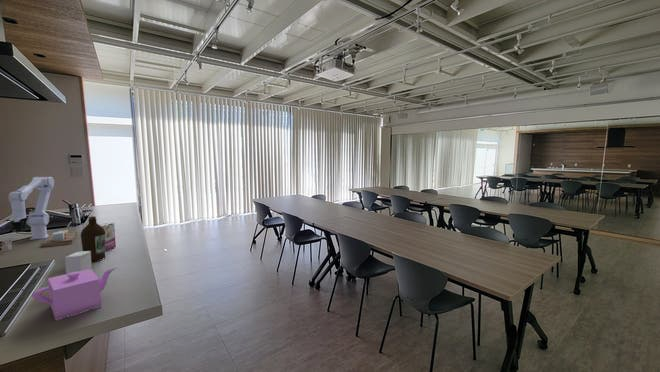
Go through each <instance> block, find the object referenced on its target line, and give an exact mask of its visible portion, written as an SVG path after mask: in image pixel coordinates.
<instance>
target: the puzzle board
mask: <svg viewBox="0 0 660 372" xmlns="http://www.w3.org/2000/svg"><path fill="white" fill-rule="evenodd" d="M57 232H64V239H65V240H59V241H53V237H52V234H53V233H51V234H48V235H49V236H48V237H47V238H45V240H44V241H43V242H42V245H41V247H43V248H47V247H56V246H64V245H70V244H71V245H72V244H73V243H74V242H75V240H76V238H77V236H78V232H77V231H73V232H69V230H68V229H65V230H58V231H57Z"/></svg>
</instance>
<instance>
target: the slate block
mask: <svg viewBox="0 0 660 372" xmlns="http://www.w3.org/2000/svg"><path fill="white" fill-rule="evenodd" d="M51 234H52V237H53V241H59V240H65V239H64V232H58V231H56V232H53V233H51Z"/></svg>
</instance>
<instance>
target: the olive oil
mask: <svg viewBox="0 0 660 372" xmlns="http://www.w3.org/2000/svg"><path fill="white" fill-rule="evenodd" d="M87 220H88V223H87V225H86V226H85V227H84V228H83V229H82V230H81V231H80V241H81V246H82V248H81V250H82V251H91V263H93V262H92V261H95V262H98V261H97V260H100V259H103V258H104V259H105V258H106V252H107V251H106V248H105V230H104V228H103V227H102V226H100V225H101V224H98V222H97V216H93V215H92V216H88V219H87ZM104 259H103V260H104ZM100 261H101V260H100Z"/></svg>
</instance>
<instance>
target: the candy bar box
mask: <svg viewBox="0 0 660 372" xmlns="http://www.w3.org/2000/svg"><path fill="white" fill-rule="evenodd" d="M99 225H100V226H102V227H103V228H104V230H105V248H106V250H107V251H110V250H112V249H115V248H116V246H117V245H116V244H117V243H116V229H115V223H114V222H106V223H102V224H99ZM114 247H115V248H114ZM109 249H110V250H109Z"/></svg>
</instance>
